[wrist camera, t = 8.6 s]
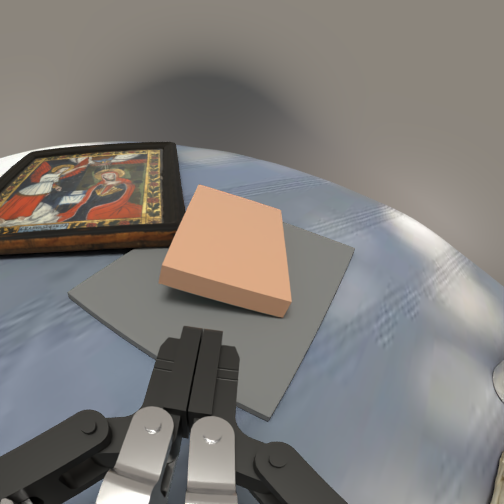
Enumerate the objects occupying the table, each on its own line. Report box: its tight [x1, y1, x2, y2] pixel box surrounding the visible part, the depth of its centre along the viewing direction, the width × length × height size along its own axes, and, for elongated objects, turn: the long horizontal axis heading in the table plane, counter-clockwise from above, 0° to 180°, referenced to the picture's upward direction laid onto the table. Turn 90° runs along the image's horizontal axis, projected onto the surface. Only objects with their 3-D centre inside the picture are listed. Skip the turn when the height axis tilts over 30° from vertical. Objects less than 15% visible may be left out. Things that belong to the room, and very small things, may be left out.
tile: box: [158, 184, 292, 318], centre depth 30 cm, size 2×10×16 cm
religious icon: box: [0, 142, 185, 255], centre depth 40 cm, size 38×35×3 cm
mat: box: [68, 222, 355, 421], centre depth 30 cm, size 19×24×1 cm
